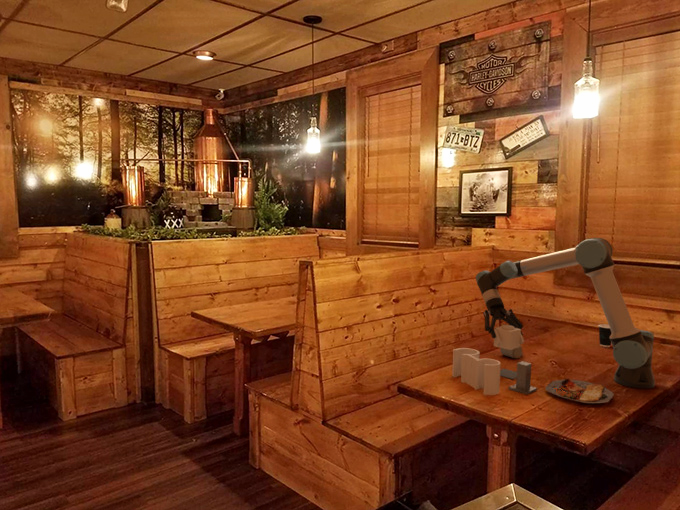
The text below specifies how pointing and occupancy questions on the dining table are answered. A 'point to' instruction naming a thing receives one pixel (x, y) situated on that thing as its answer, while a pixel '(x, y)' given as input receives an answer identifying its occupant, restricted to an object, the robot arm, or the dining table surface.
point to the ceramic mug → (512, 352)
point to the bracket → (476, 370)
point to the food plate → (589, 390)
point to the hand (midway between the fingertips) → (510, 343)
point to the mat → (508, 374)
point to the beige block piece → (508, 337)
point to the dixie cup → (604, 335)
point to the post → (523, 379)
